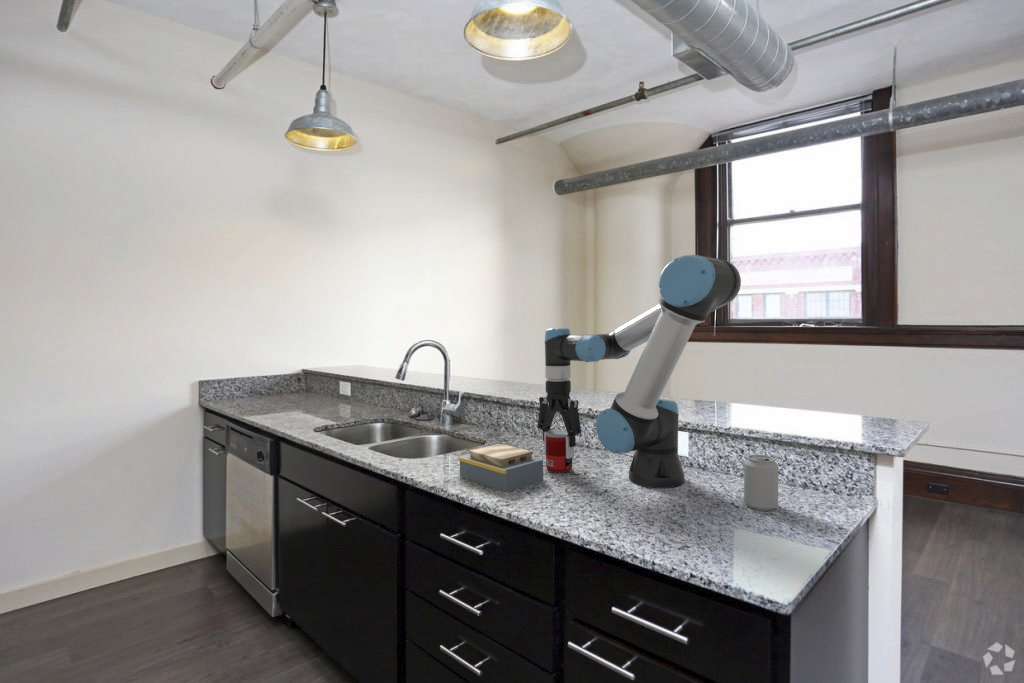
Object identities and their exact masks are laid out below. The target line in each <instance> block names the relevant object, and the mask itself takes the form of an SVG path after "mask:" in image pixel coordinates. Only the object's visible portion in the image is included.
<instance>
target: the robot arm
mask: <svg viewBox="0 0 1024 683" xmlns="http://www.w3.org/2000/svg"><path fill="white" fill-rule="evenodd" d="M658 279H659V280H658V288H659V294H660V297H659V299H658V304H656V305H655V306H653V307H651V308H650V309H648V310H646V311H644V312H643V313H641V314H639V315H637V316H636V317H634V318H633V319H631V320H628V321H627V322H626V323H624V324H622V325H620V326H618V327H617V328H616V329H614V330H612V331H610V332H609V333H602V334H601V333H599V334H597V333H596V334H572V333H571V330H570V329H569V328H567V327H561V328H560V327H558V328H557V327H556V328H550V327H549V328H547V329H546V330H545V332H544V334H545V336H544V358H545V361H544V362H545V363H544V364H545V368H544V369H545V370H544V372H545V373H544V374H545V379H546V381H545V393H547V395H546V396H540V397H538V398H539V400H538V401H539V402H538V403H539V411H538V418H537V426H536V427H537V429H539V430H541V431H542V441H543V443H544V444H543V445H544V446H543V447H544V449H543V450H544V451H543V453H544V454H545V455H546V432H548V431H552V428H551V427H552V423H553V420H554V417H555V415H556V413H557V412H558V413H559V415H561V418H562V421H563V423H564V428H565V431H567V433H568V435H566V458H567V459H569V458H572V459H573V458H574V457H575V447H576V436H578V435H581V434H582V427H581V422H580V414H579V400H573V399H571V396H570V393H571V389H572V387H571V385H572V384H571V383H572V381H571V380H570V379H571V361H575V362H576V361H577V362H585V363H594V362H595V363H596V362H599V361H603V360H619V359H624V358H627V356H629V354H630V353H631V351H632V350H633V349H635V348H637V347H639V346H641V345H643V344H645V343H646V344H645V346H644V349H643V350H642V353H641V355H640V357H639V359H638V362H637V364H636V366H635V368H634V371H633V373H632V374H631V376H630V379H629V381H628V383H627V385H626V388H625V390H624V391H621V392H618V393H617V394H616V395H615V397H614V399H613V402H612V404H611V406H610V408H607V409H604V410H602V411H601V412H600V413H599V414H598V416H597V417H596V421H595V433H596V434H597V438H598V440H599V441H600V443H601V445H602V446H603V447H604V448H605V449H606V450H608V451H609V452H610V453H614V454H627V453H628V454H629V453H630V452H633V451H634V455H633V457H632V461H631V464H630V466H629V468H628V469H629V470H628V479H629V481H630V482H632V483H633V484H637V485H640V486H643V487H649V488H656V489H657V488H659V489H660V488H661V489H663V488H664V489H665V488H667V489H669V488H675V487H680V486H682V485H684V484H685V480H686V479H685V471H684V468H683V466H682V462H681V459H680V456H679V417H680V413H679V406H678V403H677V402H676V401H674V400H670V399H665V398H661V396H662V394H663V392H664V390H665V388H666V386H667V384H668V382H669V380H670V379H671V376H672V374H673V372H674V369H675V368H676V366H677V364H678V362H679V360H680V358H681V357H682V356H681V355H682V354H683V352H684V350H685V347H686V345H687V344H688V342H689V339H690V338H691V336H692V334H693V331H694V330H695V327H696V326H697V325H699V324H701V323H705V321H706V320H707V318H708V315H709V314H710V313H712V312H714V311H717V310H718V309H721V308H722V307H725V306H726V305H729V304H730V303H732V302H733V300H735V298H736V297H737V296H738V295H739V292H740V291H741V290H740V289H741V286H742V278H741V275H740V272H739V269H738V268H737V266H735V265H734V264H733V263H732V262H730V261H728V260H726V259H723V258H717V257H715V258H714V257H709V256H702V255H699V254H689V255H687V254H686V255H681V256H678V257H676V258H674V259H672V260H670V262H668V263H667V264H666V266H665V267H664V268H663V269H662V271H661V273H660V275H659V278H658Z"/></svg>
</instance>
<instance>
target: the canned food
mask: <svg viewBox="0 0 1024 683" xmlns="http://www.w3.org/2000/svg"><path fill="white" fill-rule="evenodd" d="M566 435H568V433H567V430H560V429H559V430H549V431H548V432H546V454H545V466H546V467H545V468H546V470H547V471H548V472H553V473H569V472H570V471H572V469H573V457H572V458H569V459H567V458H566Z"/></svg>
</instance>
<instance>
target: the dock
mask: <svg viewBox="0 0 1024 683" xmlns="http://www.w3.org/2000/svg"><path fill="white" fill-rule="evenodd" d="M457 460H458V462H459V477H460V478H462V479H466V480H468V481H472V482H475V483H478V484H481V485H484V486H487V487H490V488H492V489H497V490H499V491H502V492H505V493H508V492H513V491H515V490H519V489H521V488H525V487H528V486H532V485H534V484H537V483H541V482H544V459H540V458H537V457H533V456H532V459H529V460H524V459H520V462H518V463H512V462H509V461H508V465H507V466H500V465H496V464H493V463H489V462H486V461H482V460H479V459H475V458H472V457H470V453H467V454H464V455H459V456H458V457H457Z"/></svg>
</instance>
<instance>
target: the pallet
mask: <svg viewBox="0 0 1024 683" xmlns="http://www.w3.org/2000/svg"><path fill="white" fill-rule="evenodd" d="M468 454H470V457H472V458H475V459H479V460H482V461H486V462H489V463H493V464H496V465H500V466H507V465H508V461H509V462H512V463H518V462H520V459H524V460H529V459H532V457H533V456H532V455H534V451H533V450H532V451H531V450H527V449H524V448H519V447H515V446H512V445H511V446H510V445H507V444H502V443H496V444H493V445H488V446H483V447H479V448H478V447H477V448H474V449H470V450H468Z"/></svg>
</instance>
